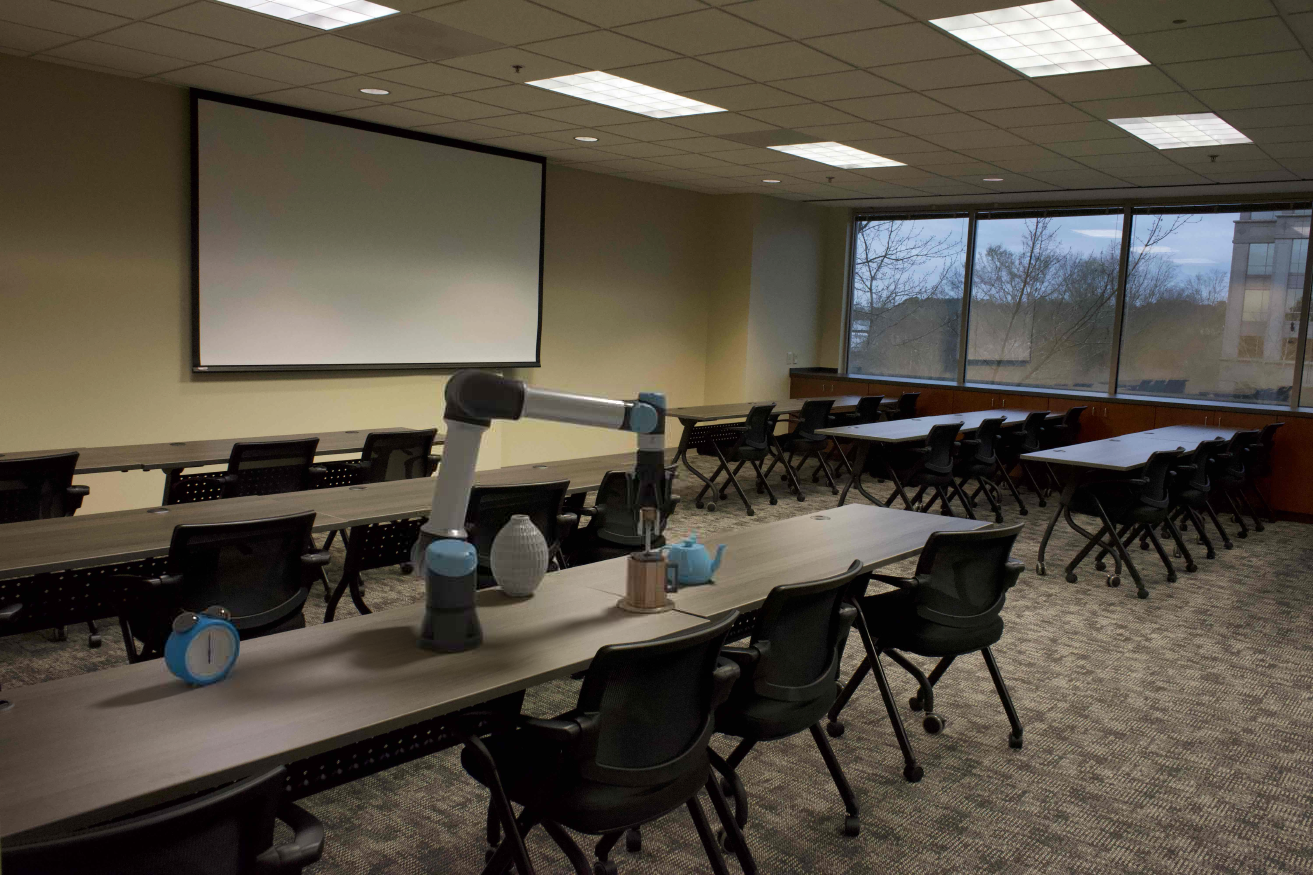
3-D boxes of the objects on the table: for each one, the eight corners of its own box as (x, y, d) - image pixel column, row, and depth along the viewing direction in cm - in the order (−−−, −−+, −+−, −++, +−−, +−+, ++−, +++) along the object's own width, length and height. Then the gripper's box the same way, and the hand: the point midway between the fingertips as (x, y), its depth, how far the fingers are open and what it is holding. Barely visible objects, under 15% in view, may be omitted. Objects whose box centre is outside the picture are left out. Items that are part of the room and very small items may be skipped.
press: (622, 614, 246) (623, 562, 245) (613, 597, 262) (614, 549, 260) (682, 612, 249) (684, 561, 248) (670, 596, 265) (671, 548, 264)
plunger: (635, 584, 251) (638, 511, 249) (631, 577, 258) (633, 506, 256) (662, 583, 252) (665, 511, 250) (657, 576, 259) (659, 506, 257)
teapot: (729, 581, 285) (731, 541, 283) (682, 589, 273) (683, 548, 272) (693, 569, 298) (695, 532, 297) (647, 577, 287) (648, 538, 286)
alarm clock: (181, 694, 183) (179, 619, 181) (163, 687, 186) (161, 614, 185) (241, 675, 194) (240, 605, 193) (223, 669, 197) (222, 600, 196)
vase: (486, 587, 269) (487, 511, 267) (541, 584, 274) (543, 510, 272) (494, 602, 253) (495, 522, 251) (552, 599, 258) (554, 520, 256)
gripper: (621, 450, 246) (619, 537, 248) (684, 450, 249) (681, 536, 252) (617, 447, 253) (615, 531, 256) (678, 447, 257) (675, 531, 259)
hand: (648, 533), depth 254 cm, fingers closed on plunger, 4 cm apart
